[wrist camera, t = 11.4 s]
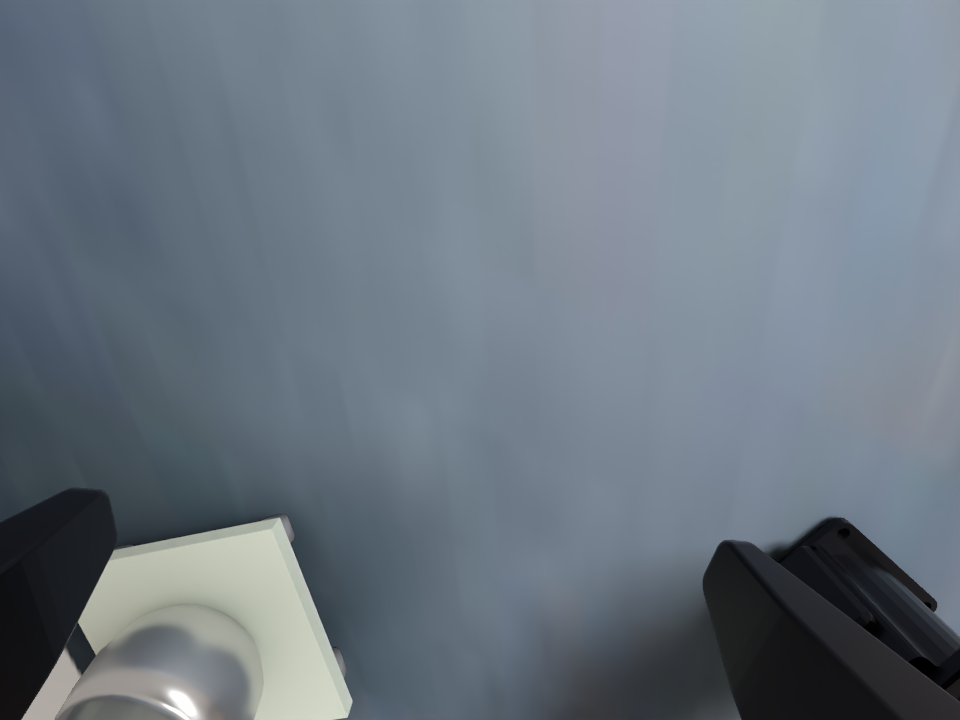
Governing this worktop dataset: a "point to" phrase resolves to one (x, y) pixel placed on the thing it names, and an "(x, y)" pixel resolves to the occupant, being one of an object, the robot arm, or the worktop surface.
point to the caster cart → (233, 608)
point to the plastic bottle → (172, 671)
